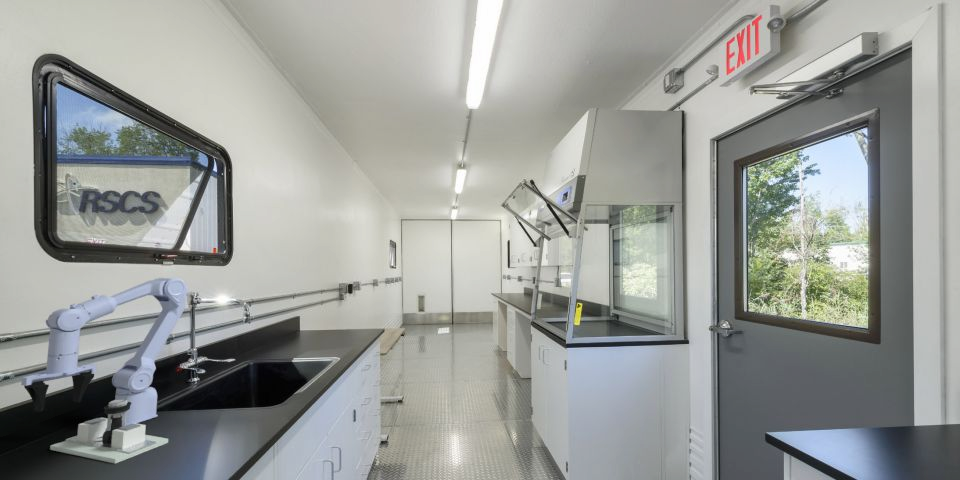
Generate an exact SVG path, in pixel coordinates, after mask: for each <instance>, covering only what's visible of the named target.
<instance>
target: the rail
mask: <svg viewBox="0 0 960 480" xmlns="http://www.w3.org/2000/svg"><path fill="white" fill-rule="evenodd" d="M100 440H102V438H99V439H95V440H92V441H89V442H84V441H79V440H77V435H75V436H72V437H69V438H66V439H65V441H69V442H74V443H79V444H84V445H89V446H94V447H99V448H104V449H109V450H114V451H119V452H124V453H129V454H130V453H133V452H135V451H138V450H141V449H143V448H146V447H148V446H151V445H154V444H156V442H154V441H149V440H145V441H143V442H140V443H138V444H135V445H132V446H129V447H127V448H124V449H119V448H114V447H111V445H112V442H111V443H106V444H103V443H102V442H97V443H94V442H96V441H100Z"/></svg>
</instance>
